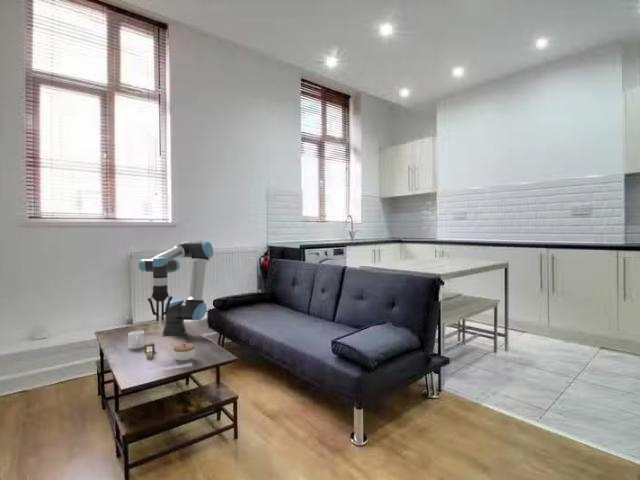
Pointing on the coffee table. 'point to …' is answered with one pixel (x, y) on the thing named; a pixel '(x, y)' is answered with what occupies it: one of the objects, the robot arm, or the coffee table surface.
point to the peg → (149, 349)
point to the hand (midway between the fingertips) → (160, 326)
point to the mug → (136, 339)
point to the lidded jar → (184, 351)
